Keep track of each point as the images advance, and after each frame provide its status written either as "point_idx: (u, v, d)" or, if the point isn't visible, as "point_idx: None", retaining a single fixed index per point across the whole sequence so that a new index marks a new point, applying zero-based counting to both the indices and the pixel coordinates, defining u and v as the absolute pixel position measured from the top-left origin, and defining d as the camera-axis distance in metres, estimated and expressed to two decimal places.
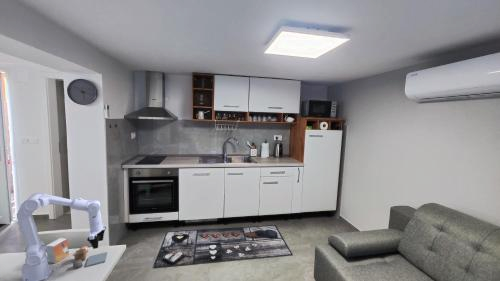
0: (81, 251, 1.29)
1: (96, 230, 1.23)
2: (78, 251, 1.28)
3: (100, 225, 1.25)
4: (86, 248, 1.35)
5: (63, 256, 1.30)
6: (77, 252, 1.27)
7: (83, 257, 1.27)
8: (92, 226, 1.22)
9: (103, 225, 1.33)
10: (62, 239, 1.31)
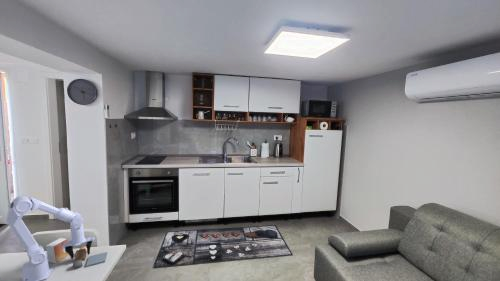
0: (81, 251, 1.29)
1: (72, 242, 1.25)
2: (78, 251, 1.28)
3: (74, 239, 1.24)
4: (86, 248, 1.35)
5: (63, 256, 1.30)
6: (77, 252, 1.27)
7: (83, 257, 1.27)
8: None
9: (93, 241, 1.30)
10: (62, 239, 1.31)
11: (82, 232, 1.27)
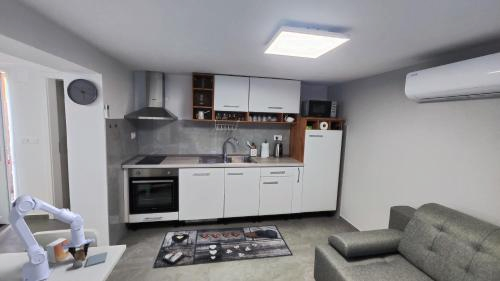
0: (81, 251, 1.29)
1: (72, 243, 1.25)
2: (78, 251, 1.28)
3: (74, 241, 1.24)
4: None
5: (63, 256, 1.30)
6: (77, 252, 1.27)
7: (83, 257, 1.27)
8: None
9: (93, 242, 1.30)
10: (62, 239, 1.31)
11: (82, 233, 1.27)
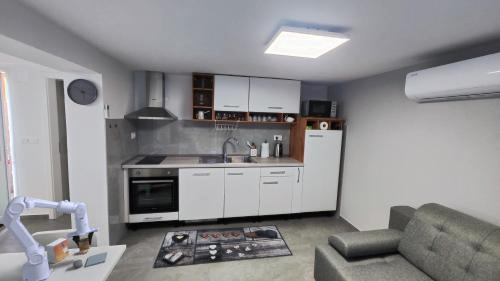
0: (85, 239, 1.27)
1: (76, 232, 1.24)
2: (82, 240, 1.27)
3: (79, 229, 1.23)
4: None
5: (63, 256, 1.30)
6: (81, 241, 1.26)
7: (87, 246, 1.26)
8: None
9: None
10: (62, 239, 1.31)
11: (86, 222, 1.25)
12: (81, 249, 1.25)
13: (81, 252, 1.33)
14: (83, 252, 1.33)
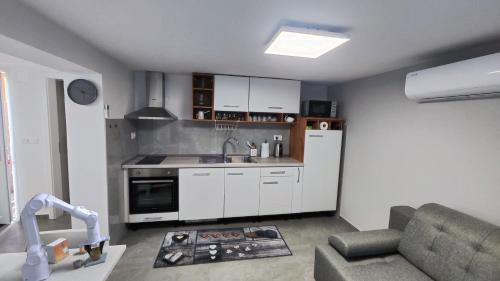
0: (96, 248, 1.28)
1: (88, 241, 1.24)
2: (94, 248, 1.27)
3: (90, 238, 1.23)
4: None
5: (63, 256, 1.30)
6: (93, 249, 1.26)
7: (99, 255, 1.26)
8: None
9: None
10: (62, 239, 1.31)
11: (97, 232, 1.25)
12: (92, 258, 1.25)
13: (81, 252, 1.33)
14: (83, 252, 1.33)
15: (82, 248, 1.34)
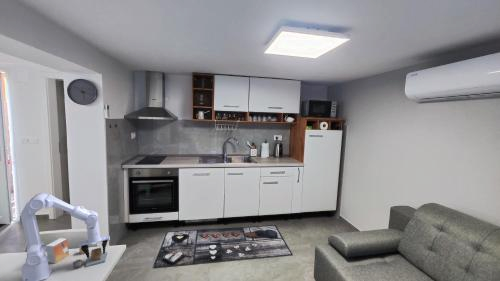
0: (96, 250, 1.28)
1: (88, 241, 1.24)
2: (94, 250, 1.27)
3: (90, 238, 1.23)
4: None
5: (63, 256, 1.30)
6: (93, 251, 1.27)
7: (99, 256, 1.26)
8: None
9: None
10: (62, 239, 1.31)
11: (97, 232, 1.25)
12: (93, 260, 1.25)
13: (81, 252, 1.33)
14: (83, 252, 1.33)
15: None
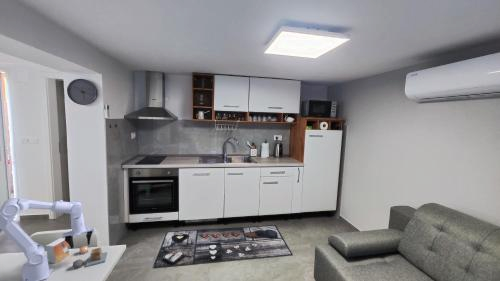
0: (96, 250, 1.28)
1: (72, 231, 1.23)
2: (94, 250, 1.27)
3: (74, 229, 1.22)
4: (85, 248, 1.34)
5: (63, 256, 1.30)
6: (93, 251, 1.27)
7: (99, 256, 1.26)
8: None
9: None
10: (62, 239, 1.31)
11: (82, 222, 1.24)
12: (93, 260, 1.25)
13: (80, 252, 1.33)
14: (82, 252, 1.33)
15: (82, 248, 1.34)
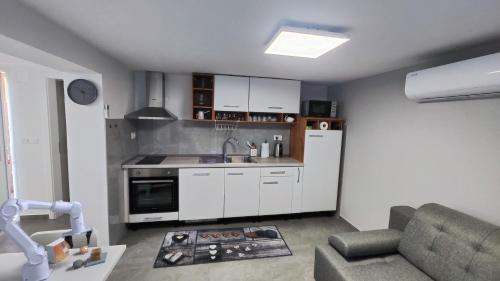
0: (96, 250, 1.28)
1: (71, 231, 1.23)
2: (94, 250, 1.27)
3: (74, 229, 1.22)
4: (85, 249, 1.34)
5: (63, 256, 1.30)
6: (93, 251, 1.27)
7: (99, 256, 1.26)
8: None
9: (93, 231, 1.27)
10: (62, 239, 1.31)
11: (81, 222, 1.24)
12: (93, 260, 1.25)
13: (80, 252, 1.33)
14: (82, 252, 1.33)
15: (82, 248, 1.34)
